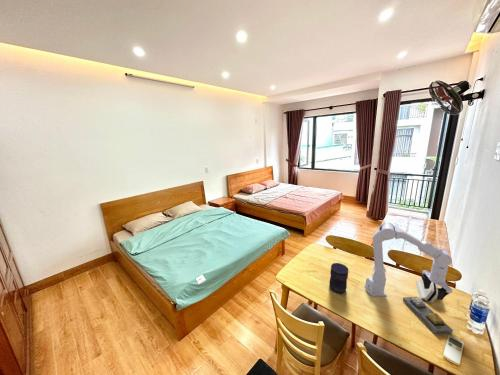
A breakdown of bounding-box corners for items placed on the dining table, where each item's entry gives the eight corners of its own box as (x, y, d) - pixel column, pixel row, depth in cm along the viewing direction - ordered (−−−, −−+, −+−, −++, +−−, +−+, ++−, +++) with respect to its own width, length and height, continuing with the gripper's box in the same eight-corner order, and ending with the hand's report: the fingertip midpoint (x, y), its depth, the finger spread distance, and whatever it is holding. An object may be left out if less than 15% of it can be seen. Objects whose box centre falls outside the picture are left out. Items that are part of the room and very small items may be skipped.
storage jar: (347, 295, 118) (350, 274, 114) (330, 293, 120) (332, 272, 116) (344, 283, 127) (346, 263, 124) (328, 281, 129) (329, 262, 126)
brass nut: (433, 328, 97) (435, 319, 96) (426, 321, 101) (428, 312, 99) (441, 328, 97) (443, 319, 96) (433, 320, 101) (436, 312, 99)
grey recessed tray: (435, 334, 94) (436, 330, 93) (402, 300, 113) (403, 297, 113) (451, 333, 94) (452, 329, 94) (416, 300, 113) (417, 296, 113)
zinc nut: (416, 311, 107) (418, 302, 105) (410, 305, 110) (412, 296, 109) (423, 310, 107) (425, 302, 105) (417, 304, 111) (419, 296, 109)
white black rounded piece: (415, 281, 127) (425, 271, 123) (423, 286, 125) (434, 275, 121) (420, 299, 114) (431, 288, 109) (429, 305, 112) (441, 294, 108)
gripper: (461, 281, 95) (454, 304, 98) (432, 263, 109) (427, 283, 112) (446, 282, 95) (440, 305, 98) (420, 263, 109) (415, 284, 112)
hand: (432, 293), depth 105 cm, fingers open, 7 cm apart
